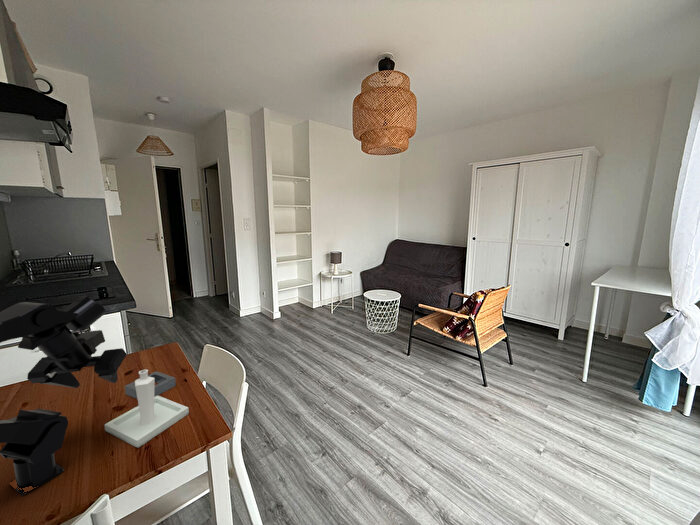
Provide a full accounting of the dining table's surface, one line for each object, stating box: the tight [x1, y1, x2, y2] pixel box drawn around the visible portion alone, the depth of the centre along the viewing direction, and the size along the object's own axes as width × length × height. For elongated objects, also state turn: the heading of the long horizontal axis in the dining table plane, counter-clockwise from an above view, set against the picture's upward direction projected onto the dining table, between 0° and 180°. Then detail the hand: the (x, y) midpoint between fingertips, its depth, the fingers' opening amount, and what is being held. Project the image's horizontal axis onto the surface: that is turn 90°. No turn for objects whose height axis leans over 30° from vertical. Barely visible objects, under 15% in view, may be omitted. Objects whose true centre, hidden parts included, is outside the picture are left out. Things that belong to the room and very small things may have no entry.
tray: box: [104, 395, 190, 449], centre depth 79 cm, size 14×14×2 cm
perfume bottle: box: [135, 369, 156, 426], centre depth 78 cm, size 5×4×15 cm
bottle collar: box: [124, 371, 176, 400], centre depth 93 cm, size 10×10×3 cm
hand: (97, 383), depth 73 cm, fingers open, 9 cm apart
